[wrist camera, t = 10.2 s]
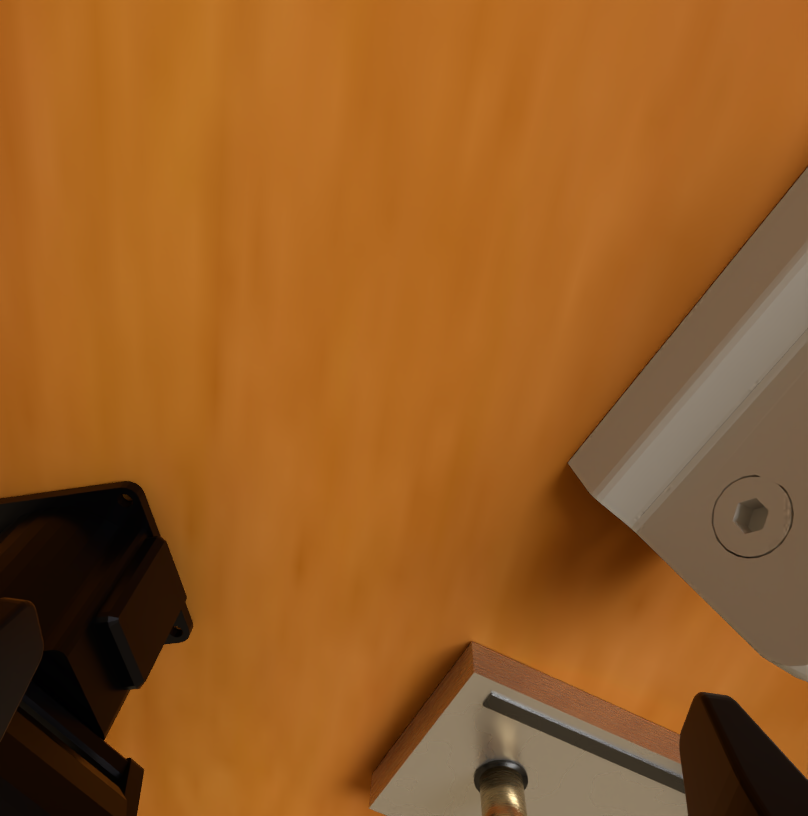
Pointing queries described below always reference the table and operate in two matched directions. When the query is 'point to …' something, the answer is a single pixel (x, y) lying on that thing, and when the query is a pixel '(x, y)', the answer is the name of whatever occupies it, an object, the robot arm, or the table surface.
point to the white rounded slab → (726, 443)
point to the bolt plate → (526, 751)
